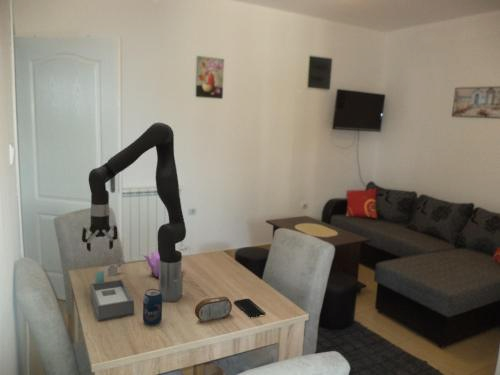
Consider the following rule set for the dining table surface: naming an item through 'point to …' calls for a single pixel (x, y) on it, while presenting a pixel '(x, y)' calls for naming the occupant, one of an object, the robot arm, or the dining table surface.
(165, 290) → the robot arm
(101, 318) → the bin
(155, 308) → the soda can
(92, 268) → the dining table surface
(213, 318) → the bluetooth speaker
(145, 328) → the dining table surface
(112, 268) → the lighter
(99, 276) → the peg
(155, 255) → the teapot
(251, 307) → the phone
